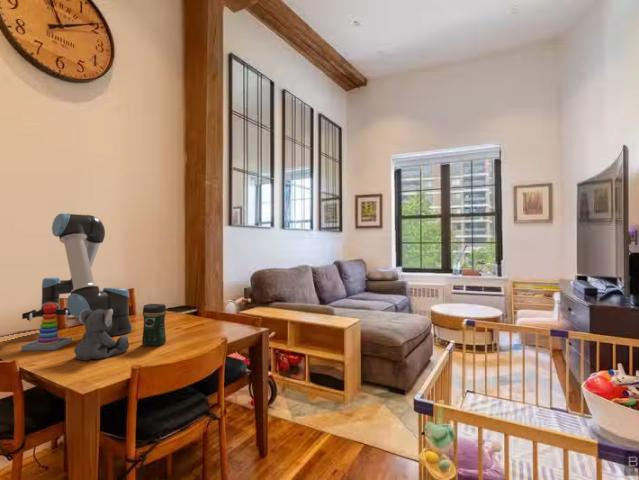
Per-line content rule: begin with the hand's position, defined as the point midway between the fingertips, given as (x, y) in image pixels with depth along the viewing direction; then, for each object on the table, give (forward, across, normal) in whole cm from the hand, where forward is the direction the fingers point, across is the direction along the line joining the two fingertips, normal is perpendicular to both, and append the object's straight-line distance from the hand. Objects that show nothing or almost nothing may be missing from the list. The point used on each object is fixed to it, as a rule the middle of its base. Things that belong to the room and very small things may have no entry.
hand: (49, 316), depth 166 cm
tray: (+10, 0, -12) cm, 15 cm away
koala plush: (+36, -17, -12) cm, 41 cm away
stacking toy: (+10, 0, -11) cm, 15 cm away
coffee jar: (+31, -39, -12) cm, 52 cm away
